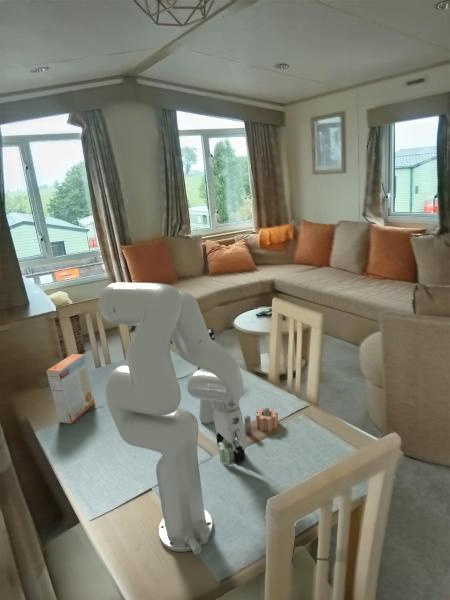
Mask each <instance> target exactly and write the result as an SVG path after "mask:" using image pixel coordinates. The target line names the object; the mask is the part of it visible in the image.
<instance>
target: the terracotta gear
mask: <svg viewBox="0 0 450 600" xmlns="http://www.w3.org/2000/svg"><path fill="white" fill-rule="evenodd" d="M264 408H265V407H262V409H258V410H256V413H255V420H256V425H257V428H260V430H261V431H264V430H268V432H270V431H272V429H277V428H278V426H277V425H278V422H279V419H278V418H279V416H278V410H275V409H274V408H273V407H269V415H270V416H264V411H263V409H264Z"/></svg>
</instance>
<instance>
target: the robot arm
mask: <svg viewBox="0 0 450 600" xmlns="http://www.w3.org/2000/svg"><path fill="white" fill-rule="evenodd" d="M98 307H99V308H98V309H99V312H100V313H101V316H102V317H103V318H104V319H105V320H106V321H107V322H109V323H111V324H113V325H123V326H131V327H139V328H138V329H137V331H136V332H135V335H134V337H133V338H132V340H131V341H130V342H129V344H128V347H127V349H126V353H125V361H126V364H122V365H120V366H117V367H116V368H114V369H113V370H112V371H111V372H110V374H109V376H107V380H106V382H105V383H106V384H105V392H104V393H105V400H106V401H105V402H106V404H107V407H108V409H109V412H110V414H111V417H112V419H113V423H114V424H115V425H116V426H115V427H116V428H117V431H118V433H119V435H120V437H121V439H122V440H123V441H124V442H125V443H127V444H128V445H130V446H133V447H137V448H142V449H145V450H151V451H153V452H157V453H160V454H161V457H160V458H159V459H158V461H157V464H156V466H155V475H156V481H157V487H158V494H159V498H160V499H159V501H160V505H161V510H162V517H163V518H162V520H161V522H160V524H159V527H158V536H159V539H160V542H161V543H162V545H163V546H164V547H166V548H167V549H169V550H170V551H174V552H180V553H182V552H183V553H184V552H188V551H192V553H193V554H194V555H198V554H200V553H201V551H203V550H202V545H204V544H207V543H208V541H209V538H210V536H211V535H212V532H213V530H214V529H213V527H214V525H213V517H212V516H211V513H210V512H209V511H208V510H207V509H206V508H205V505H204V504H205V503H204V496H203V488H202V483H201V474H200V467H199V457H198V440H199V439H198V438H199V422H198V420H197V417H196V416H195V415H194V414H193V413H191V411H188V410H186V409H184V408H180V404H181V399H182V394H181V389H180V383H179V380H178V376H177V374H176V371H175V367H174V363H173V359H172V357H171V352H170V351H171V350H170V349H171V348H170V346H171V341H172V343H173V346H174V347H175V351H176V352H177V354H178V356H179V357H180V358H181V359H182V360H184V361H185V362H187V363H189V364H191V365H192V366H195V367H196V368H198V367H200V368H201V369H199V370H198V369H197V370H196V371H194V372H193V373H192V374H191V375H190V377H189V378H188V380H187V392H188V394H189V395H190V396H191V397H193V398H195V399H198V400H199V399H204V400H212V404H213V409H214V415H213V416H212V417H213V420H214V422H213V426H214V427H215V430H214V432H215V434H216V444H217V446H218V444H219V442H222V441H223V440H222V439H226V440H227V441H228V442H229V443H231V444H232V445H233V448H234V450H235V451H233V453H234V460H233V461H234V462H233V463H234V464H235V465H237V464H240V463H242V462H244V461H245V460H246V456H245V455H246V454H245V450H246V448H247V446H246V444H247V442H246V440H245V430H244V425H245V422H244V417H243V414H242V411H241V407H240V399H241V398H242V396H243V393H244V381H243V376H242V373H241V369H240V366H239V364H238V362H237V360H236V358H235V357H234V356H233V355H232V354H230V353H229V351H227V350H226V349H225V348H223V347H222V346H221V345H220V344H219V343H217V342H216V341H215V342H214V341H213V340H212V339H211V338H210V335H209V332H208V330H207V328H208V327H207V325H206V322H205V319H204V316H203V313H202V311H201V309H200V306H199V303H198V301H197V299H196V298H195V296H194V294H191V293H190V292H187V291H184V290H178V289H177V288H176V287H174V286H172V285H169V284H167V283H160V282H127V281H126V282H124V281H122V282H119V281H117V282H112V283H110V284H108V285H106V287H104V288H103V289H102V291H101V292H100V294H99V299H98ZM235 439H236V440H235ZM234 440H235V441H234ZM238 441H239V443H240V446H238V447H237V446H236V444H235V443H236V442H238Z"/></svg>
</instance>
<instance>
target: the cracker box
mask: <svg viewBox="0 0 450 600" xmlns="http://www.w3.org/2000/svg"><path fill="white" fill-rule="evenodd" d="M46 375H47V379H48V384H49V386H50V387H49V388H50V392H51V394H52V399H53V403H54V407H55V411H56V415H57V419H58V422H59V423H61V424H68V425H72V424H73V423H74V422H76V421H77V420H78V419H79V418H81V416H82V415H84V414H85V413H87V411H88V410H90V409H91V408H92V407H93V406H94V405H95V404H96V403H95V399H94V394H93V388H92V384H91V380H90V379H91V378H90V375H89V370H88V366H87V362H86V357H85V354H80V353H79V354H78V353H72V354H70V355H69V356H67V357H66V358H64V359H63V360H61V361H59V362H58V363H56V364H55V365H53V366H52V367H50V368H48V369H47V370H46Z"/></svg>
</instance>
